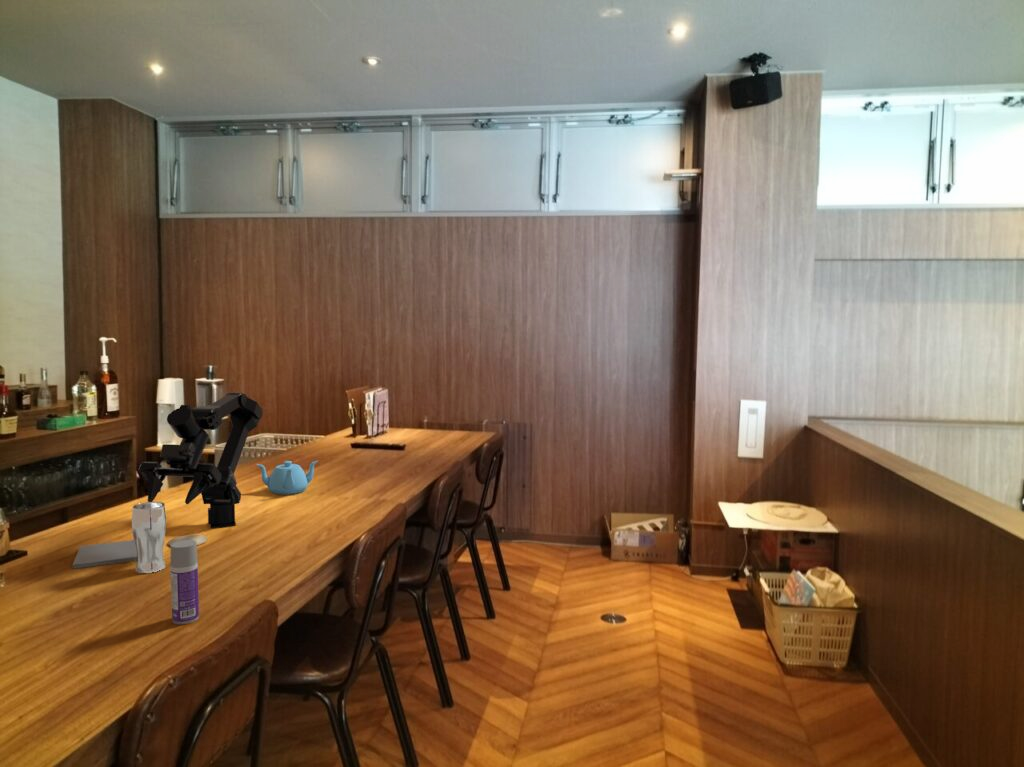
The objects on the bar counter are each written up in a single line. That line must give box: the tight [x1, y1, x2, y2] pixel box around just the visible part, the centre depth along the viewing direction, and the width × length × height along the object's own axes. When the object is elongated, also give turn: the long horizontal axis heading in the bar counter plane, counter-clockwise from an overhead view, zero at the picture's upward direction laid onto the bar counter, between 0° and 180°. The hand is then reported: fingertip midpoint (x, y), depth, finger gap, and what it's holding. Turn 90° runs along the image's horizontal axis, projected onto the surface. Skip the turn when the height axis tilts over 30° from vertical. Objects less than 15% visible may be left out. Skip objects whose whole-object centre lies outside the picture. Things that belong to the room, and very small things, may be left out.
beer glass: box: [131, 501, 167, 574], centre depth 154 cm, size 7×7×15 cm
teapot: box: [256, 460, 319, 496], centre depth 226 cm, size 15×15×10 cm
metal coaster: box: [168, 534, 208, 547], centre depth 173 cm, size 9×9×1 cm
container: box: [170, 540, 200, 625], centre depth 128 cm, size 5×5×15 cm
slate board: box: [72, 539, 137, 570], centre depth 163 cm, size 14×14×1 cm
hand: (167, 502), depth 161 cm, fingers open, 9 cm apart
